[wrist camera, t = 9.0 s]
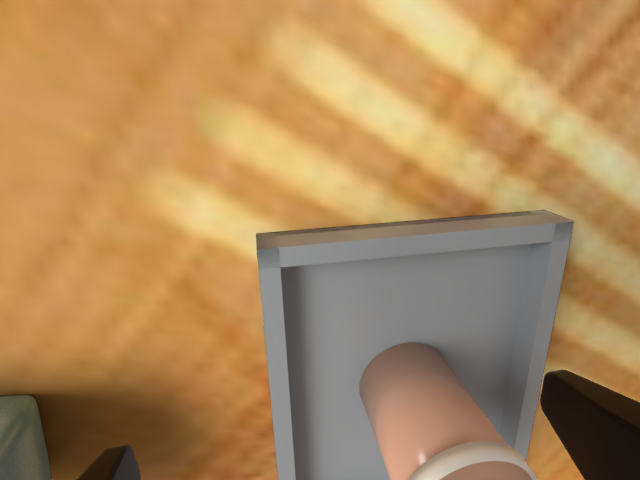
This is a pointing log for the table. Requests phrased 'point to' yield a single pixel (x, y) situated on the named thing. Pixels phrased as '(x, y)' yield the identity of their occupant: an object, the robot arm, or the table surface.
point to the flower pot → (22, 440)
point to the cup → (432, 421)
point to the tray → (404, 325)
